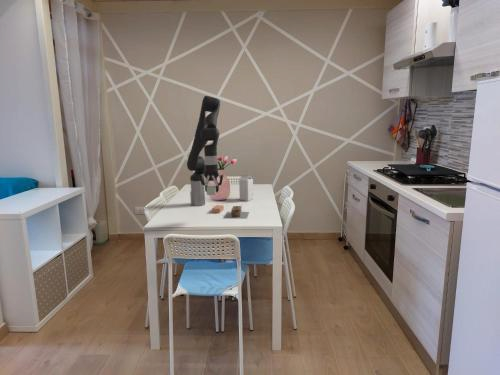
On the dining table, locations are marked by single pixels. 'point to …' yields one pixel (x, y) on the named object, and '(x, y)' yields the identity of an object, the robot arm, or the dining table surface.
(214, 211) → the terracotta brick
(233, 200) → the dining table surface
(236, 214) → the walnut brick
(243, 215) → the baseplate
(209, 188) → the sage brick
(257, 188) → the dining table surface
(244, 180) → the milk carton
